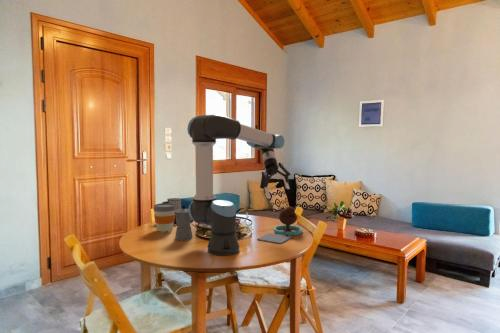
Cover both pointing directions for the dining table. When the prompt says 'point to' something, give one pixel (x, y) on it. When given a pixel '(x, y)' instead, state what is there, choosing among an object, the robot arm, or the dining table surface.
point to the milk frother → (177, 204)
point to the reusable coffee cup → (164, 216)
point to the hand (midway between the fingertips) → (277, 193)
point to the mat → (274, 238)
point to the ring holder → (288, 232)
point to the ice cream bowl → (288, 217)
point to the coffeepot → (183, 224)
